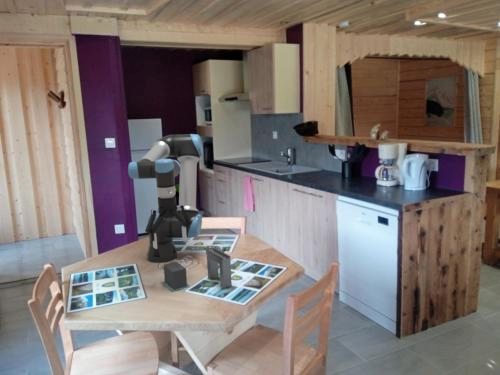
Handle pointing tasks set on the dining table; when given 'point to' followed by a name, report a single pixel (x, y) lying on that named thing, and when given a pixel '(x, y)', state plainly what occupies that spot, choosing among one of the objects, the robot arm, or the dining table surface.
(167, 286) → the mat
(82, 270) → the dining table surface
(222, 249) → the mechanical component
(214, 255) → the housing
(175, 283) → the plug
